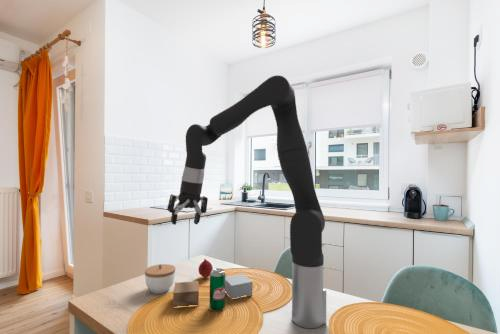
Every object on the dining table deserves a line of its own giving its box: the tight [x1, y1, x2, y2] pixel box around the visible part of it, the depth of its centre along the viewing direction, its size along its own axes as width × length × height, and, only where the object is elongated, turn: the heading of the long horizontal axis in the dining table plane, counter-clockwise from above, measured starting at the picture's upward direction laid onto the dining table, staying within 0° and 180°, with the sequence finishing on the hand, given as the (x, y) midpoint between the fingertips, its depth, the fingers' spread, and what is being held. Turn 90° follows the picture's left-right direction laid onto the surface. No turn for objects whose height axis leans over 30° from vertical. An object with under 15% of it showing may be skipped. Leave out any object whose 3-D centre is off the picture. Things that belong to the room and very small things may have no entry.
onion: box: [198, 258, 214, 279], centre depth 109 cm, size 6×6×8 cm
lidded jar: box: [144, 263, 176, 295], centre depth 98 cm, size 11×11×9 cm
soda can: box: [209, 268, 226, 311], centre depth 86 cm, size 5×5×12 cm
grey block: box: [225, 273, 253, 300], centre depth 96 cm, size 8×8×5 cm
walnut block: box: [172, 280, 200, 308], centre depth 89 cm, size 8×8×5 cm
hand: (185, 223), depth 96 cm, fingers open, 8 cm apart
